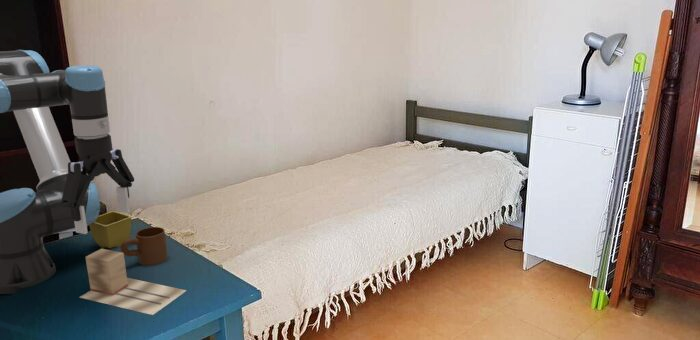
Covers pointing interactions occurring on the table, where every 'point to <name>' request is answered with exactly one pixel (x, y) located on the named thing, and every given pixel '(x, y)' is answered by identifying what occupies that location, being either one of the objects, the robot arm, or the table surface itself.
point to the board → (138, 296)
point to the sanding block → (106, 271)
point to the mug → (148, 246)
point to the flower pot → (111, 229)
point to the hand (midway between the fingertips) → (104, 222)
